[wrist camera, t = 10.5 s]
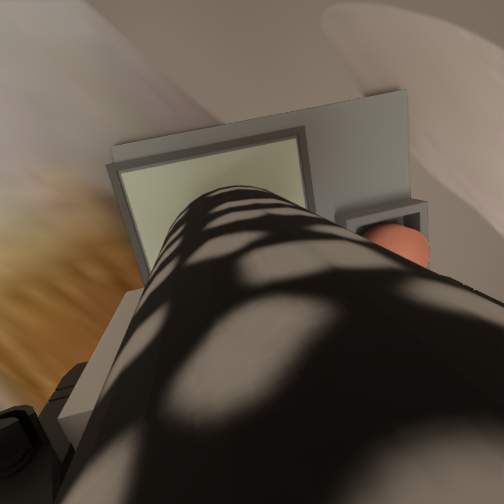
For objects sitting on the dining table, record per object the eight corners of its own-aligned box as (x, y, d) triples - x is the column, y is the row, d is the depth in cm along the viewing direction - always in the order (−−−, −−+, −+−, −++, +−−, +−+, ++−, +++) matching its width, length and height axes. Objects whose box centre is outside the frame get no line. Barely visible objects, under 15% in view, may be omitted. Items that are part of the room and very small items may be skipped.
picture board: (167, 343, 25) (164, 367, 23) (105, 148, 21) (90, 147, 18) (406, 283, 27) (430, 297, 24) (398, 92, 23) (426, 82, 20)
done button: (359, 279, 24) (376, 291, 22) (355, 228, 23) (372, 236, 21) (408, 267, 24) (430, 278, 22) (406, 216, 23) (429, 222, 21)
